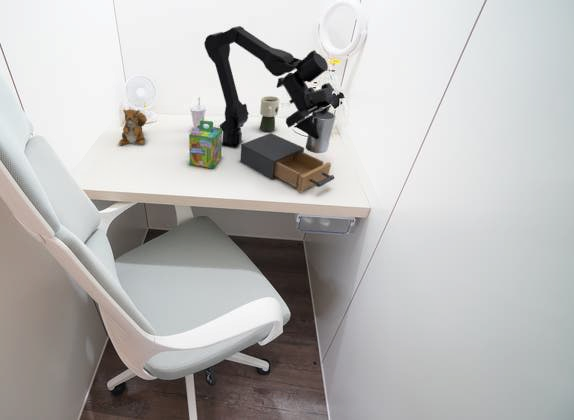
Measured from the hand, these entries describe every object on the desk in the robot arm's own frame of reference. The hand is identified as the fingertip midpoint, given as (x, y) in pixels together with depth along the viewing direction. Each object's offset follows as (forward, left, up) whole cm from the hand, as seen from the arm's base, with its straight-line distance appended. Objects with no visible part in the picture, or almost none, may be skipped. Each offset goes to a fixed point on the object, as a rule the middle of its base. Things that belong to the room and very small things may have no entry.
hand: (323, 135), depth 100 cm
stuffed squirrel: (-72, -3, -14) cm, 73 cm away
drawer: (-3, -7, -13) cm, 15 cm away
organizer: (-15, 0, -13) cm, 20 cm away
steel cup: (-1, 0, -5) cm, 5 cm away
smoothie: (-52, +15, -14) cm, 56 cm away
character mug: (-25, +27, -14) cm, 39 cm away
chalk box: (-37, -8, -14) cm, 40 cm away
